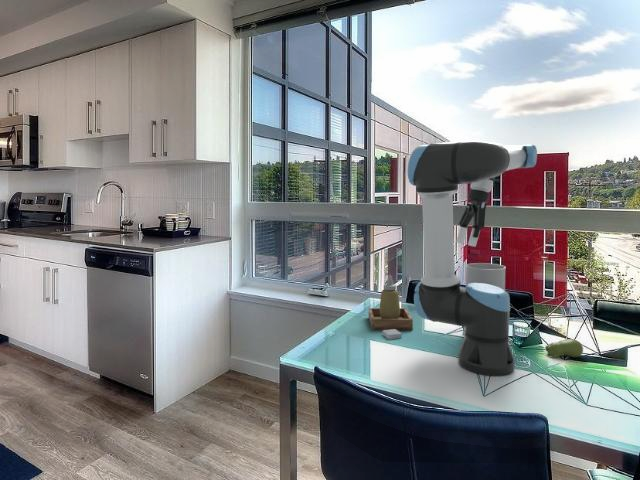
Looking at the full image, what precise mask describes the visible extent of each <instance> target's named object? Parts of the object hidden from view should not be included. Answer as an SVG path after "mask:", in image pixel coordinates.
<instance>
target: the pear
mask: <svg viewBox="0 0 640 480" xmlns="http://www.w3.org/2000/svg"><path fill="white" fill-rule="evenodd" d="M545 350H546V352H547V354H548V355H549V356H550V357H552V358H559V357H560V356H562V355H563V356H567V357H571V358H579V357H580V356H582V355H583V352H584V347H583V345H582V343H581V342H580V341H578V340H577V339H572V338H569V339H563V340H559V341H557V342H551V343H549V344H547V345H545Z"/></svg>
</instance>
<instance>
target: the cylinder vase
mask: <svg viewBox="0 0 640 480" xmlns="http://www.w3.org/2000/svg"><path fill="white" fill-rule="evenodd" d="M465 267H466V269H465V270H466V271H465V272H466V273H465V287H466V286H467V285H468V284H469V283H484V284H489V285H493V286H496V287H499V288H501V289H503V290H505V291H506V268H507V267H506V266H505V265H501V264H498V263H486V262H477V263H475V262H474V263H467V264H466V266H465Z"/></svg>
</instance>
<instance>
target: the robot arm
mask: <svg viewBox="0 0 640 480" xmlns="http://www.w3.org/2000/svg"><path fill="white" fill-rule="evenodd" d="M410 154H411V155H410V156H409V159H408V162H407V163H408V164H407V179H408V181H409V184H410V185H412V186H415V188H416V190H415V191H416V194H417V195H418V196H420V197H421V205H422V209H421V210H422V225H423V226H422V228H423V251H424V270H425V271H424V273H425V274H424V275H423V276H422V277H421V278H420V282H418V283H417V284H416V286H415V288H414V293H413V304H414V307H415V311H416V314H417V315H418V316H419V317H421V319H424V320H428V321H431V322H433V323H442V324H448V325H453V326H457V327H458V326H459V327H464V335H465V337H464V339H463V342H462V344H461V347H460V349H459V352H458V358H457V359H458V361H457V362H458V364H459V366H461V367H462V368H463V369H465V370H467V371H469V372H472V373H475V374H479V375H484V376H492V377H493V376H495V377H496V376H499V377H500V376H506V375H509V374H511V373H513V372H514V371H515V359H514V355H513V352H512V349H511V346H510V343H509V335H510V330H509V329H510V314H511V313H510V312H511V305H510V304H511V303H510V301H511V300H510V299H511V298H510V294H509V293H508V291H506V289H505V290H503V289H501V288H499V287H496V286H493V285H489V284H484V283H469V284H468V285H467V286H466V285H465V286H461V279H460V277H459V276H457V275H456V274H455V271H456V269H455V239H454V233H455V232H454V200H453V198H454V197H453V196H454V195H455V194H456V193H457V192H458V190H459V185H465V184H467V185H469V184H470V187H469V188H470V189H469V191H468V195H467V199H468V200H470V202H467V203H466V206H465V209H464V210H463V213H462V215H461V218H460V220H459V222H458V225H459V226H460V227H459V230H458V234H457V237H456V243H458V244H464V242H465V239H466V235H467V231H468V229H469V224H470V222H471V220H472V219H473V225H472V228H471V232H470V236H469V239H468V243H467V246H470V247H475V248H476V246H477V243H478V240H479V236H480V232H481V230H482V229H484V228H485V221H486V209H487V203H488V202H489V199H490V195H491V194H490V192H491V191H492V188H493V187H494V182H495V181H494V180H495V178H497V177H499V176H501V175H502V174H504V173H505V172H506V171H507V172H508V171H510V170H515V169H528V168H534V167H535V166H536V164H537V159H538V149H537V147H536V145H534V144H522V145H503V144H501V143H499V142H488V141H482V140H480V141H479V140H462V141H449V142H439V143H437V142H436V143H432V142H431V143H427V144H422V145H418V146H417V147H416V148H414V149H413V150H412V152H411V153H410Z"/></svg>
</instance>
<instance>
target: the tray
mask: <svg viewBox="0 0 640 480" xmlns="http://www.w3.org/2000/svg"><path fill="white" fill-rule="evenodd" d="M379 310H380V307H375V308H374V307H370V308H369V307H368V320H369V324H370V328H371V331H383V330H390V329H396V330H397V331H413V330H414V329H413V328H414V326H413V325H414V324H413V322H414V320H413V317H412V316H411V314H410V313H409V311H408V309H407V308H406V307H404V308H403V307H400V315H399V318H398V319H381V315H380V312H379Z"/></svg>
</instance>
